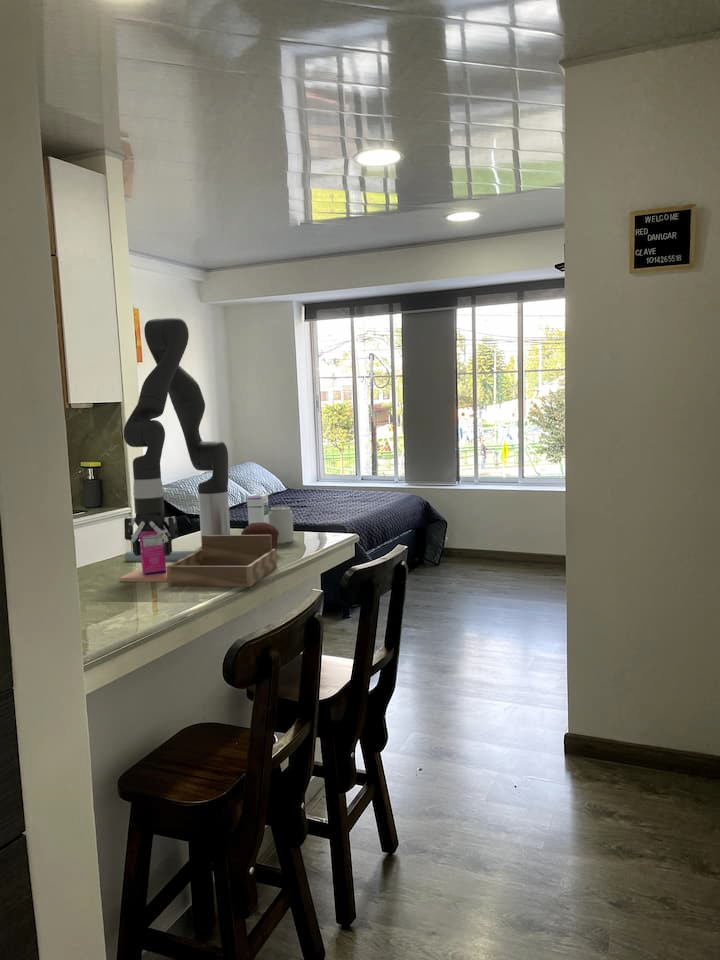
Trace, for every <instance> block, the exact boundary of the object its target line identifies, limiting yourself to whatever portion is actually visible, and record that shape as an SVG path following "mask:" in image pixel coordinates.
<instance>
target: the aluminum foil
mask: <svg viewBox="0 0 720 960" xmlns="http://www.w3.org/2000/svg"><path fill="white" fill-rule="evenodd" d="M196 551H197V550H172V553H170V555H168V556H165V562H177V561H178V560H180V559H182V558H184V557H186V556H188V555H190V554H192V553H194V552H196ZM124 559H125V562H142V561H141V555H139V556H135V554H134V553H133V550H132V551H130V550H129V551H126V552H125V554H124Z"/></svg>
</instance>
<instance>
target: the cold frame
mask: <svg viewBox="0 0 720 960" xmlns="http://www.w3.org/2000/svg"><path fill="white" fill-rule="evenodd" d="M195 551H196V552H194V553H192V554H190V555H188V556H186V557H184V558H182V559H180V560H178V561H174V562H173V563H171V564H169V565H166V567H167V586H168V587H246V588H247V587H250V588H251V587H253V586H254V585H256V583H258V582H259V581H261V579H263V578H264V577H265V576H266V575H268V574H270V573H271V572H272V571H273V570H275V569H276V568H277V565H278V564H277V563H278V562H277V551H276V549H272V535H241V534H230V535H202V545H201V549H198V550H195Z"/></svg>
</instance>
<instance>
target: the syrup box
mask: <svg viewBox="0 0 720 960" xmlns="http://www.w3.org/2000/svg"><path fill="white" fill-rule="evenodd" d="M246 502H247V503H246V505H247V506H246V507H247V519H248V525H250V524H253V523H258V522H264V523H269V513H270V506H269V494H267V493H254V494H253V493H252V494H251V495H248V496H246Z"/></svg>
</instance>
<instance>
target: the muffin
mask: <svg viewBox="0 0 720 960" xmlns="http://www.w3.org/2000/svg"><path fill="white" fill-rule="evenodd" d="M279 534H280V533H279V532H278V530H277V529H276V528H275V527H274V526H272V525H271V524H269V523H264V522H258V523H253V524H250V525H249V524H248V525H247V526H246V527H245V528H243V530H242V531H241V534H240V535H272V549H276V552H277V549H278V543H277V541H278V536H279Z"/></svg>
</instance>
